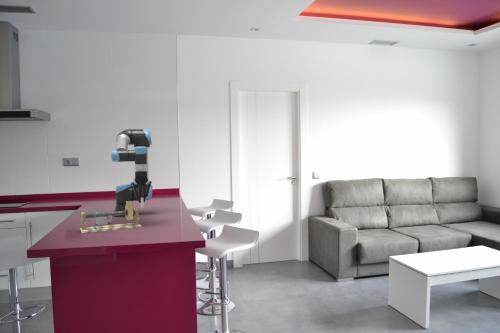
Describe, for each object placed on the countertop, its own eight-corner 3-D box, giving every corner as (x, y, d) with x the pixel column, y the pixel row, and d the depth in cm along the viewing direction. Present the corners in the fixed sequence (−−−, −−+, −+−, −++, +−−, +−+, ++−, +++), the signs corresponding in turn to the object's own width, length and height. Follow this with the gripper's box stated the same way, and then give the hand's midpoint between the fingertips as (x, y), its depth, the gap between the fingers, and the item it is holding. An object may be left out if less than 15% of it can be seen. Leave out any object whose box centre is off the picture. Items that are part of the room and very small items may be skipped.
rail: (82, 233, 222) (81, 214, 222) (80, 230, 233) (79, 211, 232) (141, 227, 239) (141, 209, 238) (136, 224, 249) (136, 207, 249)
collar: (128, 220, 237) (127, 202, 236) (125, 218, 244) (125, 200, 243) (133, 219, 238) (132, 201, 238) (130, 217, 245) (129, 200, 245)
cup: (96, 223, 254) (96, 210, 253) (112, 222, 257) (112, 209, 256) (95, 225, 247) (95, 211, 246) (112, 224, 250) (112, 211, 249)
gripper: (131, 171, 237) (132, 209, 238) (152, 170, 244) (153, 207, 244) (129, 170, 244) (130, 207, 245) (149, 170, 250) (150, 206, 251)
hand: (141, 207), depth 245 cm, fingers closed
